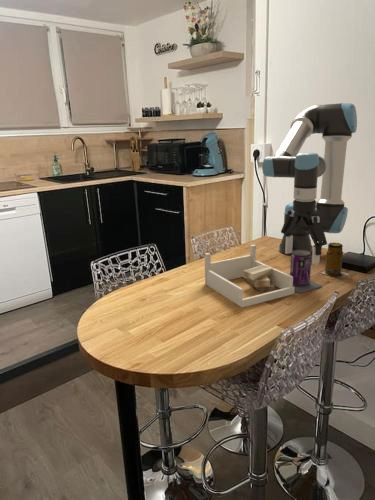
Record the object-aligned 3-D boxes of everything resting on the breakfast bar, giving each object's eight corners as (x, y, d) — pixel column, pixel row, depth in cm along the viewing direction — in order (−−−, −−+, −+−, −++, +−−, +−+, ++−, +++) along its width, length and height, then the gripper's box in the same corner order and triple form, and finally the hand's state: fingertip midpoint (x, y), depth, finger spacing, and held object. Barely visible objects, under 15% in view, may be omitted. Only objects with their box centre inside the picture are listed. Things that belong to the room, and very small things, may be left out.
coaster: (300, 277, 147) (300, 276, 147) (321, 287, 138) (322, 285, 138) (277, 283, 143) (277, 281, 143) (298, 293, 133) (298, 291, 133)
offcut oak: (262, 275, 146) (263, 269, 145) (269, 286, 135) (269, 280, 135) (249, 276, 146) (249, 270, 145) (255, 287, 135) (255, 280, 135)
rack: (252, 273, 154) (253, 244, 150) (294, 293, 133) (296, 261, 130) (205, 283, 144) (204, 253, 141) (241, 307, 124) (242, 272, 120)
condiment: (330, 269, 156) (332, 240, 153) (349, 274, 150) (352, 245, 146) (319, 273, 152) (322, 244, 148) (339, 279, 145) (342, 248, 142)
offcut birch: (272, 274, 141) (272, 267, 140) (252, 280, 135) (252, 274, 134) (262, 270, 144) (262, 264, 144) (243, 276, 139) (243, 270, 138)
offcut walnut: (257, 280, 148) (257, 275, 147) (274, 292, 137) (274, 285, 136) (246, 282, 146) (246, 276, 145) (261, 294, 135) (261, 288, 135)
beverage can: (305, 288, 136) (307, 256, 132) (286, 284, 140) (287, 253, 136) (312, 282, 141) (314, 251, 137) (294, 278, 145) (295, 248, 142)
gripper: (272, 195, 140) (271, 250, 147) (324, 206, 119) (319, 270, 126) (288, 193, 144) (286, 247, 150) (341, 203, 122) (336, 266, 129)
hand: (301, 258), depth 138 cm, fingers open, 13 cm apart
